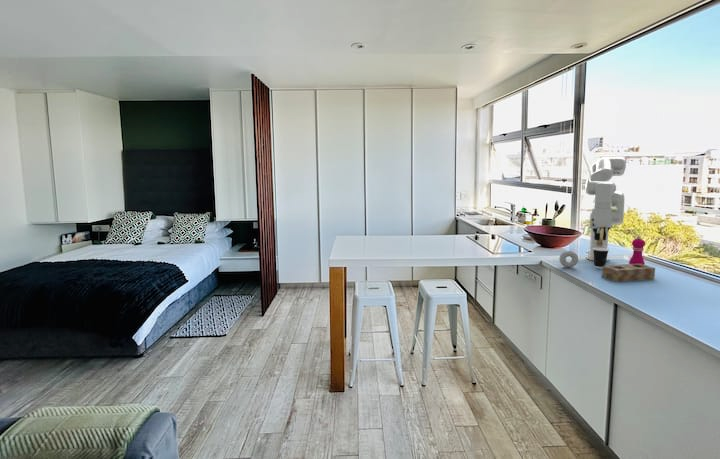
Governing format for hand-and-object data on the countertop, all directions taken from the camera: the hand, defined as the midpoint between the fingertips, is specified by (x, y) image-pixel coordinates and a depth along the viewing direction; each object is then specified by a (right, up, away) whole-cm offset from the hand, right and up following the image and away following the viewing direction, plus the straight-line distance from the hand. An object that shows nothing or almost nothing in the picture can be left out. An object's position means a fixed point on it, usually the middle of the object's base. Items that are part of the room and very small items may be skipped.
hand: (600, 239), depth 223 cm
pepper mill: (+25, -18, +8) cm, 31 cm away
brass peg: (0, -3, 0) cm, 3 cm away
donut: (-8, -17, +19) cm, 26 cm away
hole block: (+12, -20, -4) cm, 24 cm away
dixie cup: (+10, -17, +18) cm, 26 cm away
